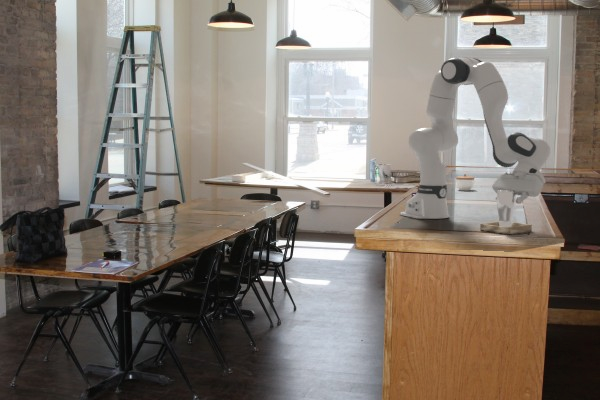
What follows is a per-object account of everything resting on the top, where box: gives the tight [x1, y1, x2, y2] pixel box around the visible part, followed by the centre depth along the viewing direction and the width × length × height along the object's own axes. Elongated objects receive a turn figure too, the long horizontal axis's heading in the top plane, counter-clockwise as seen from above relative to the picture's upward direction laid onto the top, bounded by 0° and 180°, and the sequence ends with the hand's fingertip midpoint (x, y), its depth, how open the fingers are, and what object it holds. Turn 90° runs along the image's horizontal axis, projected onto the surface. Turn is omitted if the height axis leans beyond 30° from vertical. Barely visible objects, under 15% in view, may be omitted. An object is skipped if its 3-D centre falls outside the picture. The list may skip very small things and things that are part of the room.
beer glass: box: [496, 190, 517, 228], centre depth 286 cm, size 7×7×15 cm
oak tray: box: [479, 220, 533, 235], centre depth 287 cm, size 14×14×3 cm
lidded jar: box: [455, 173, 475, 191], centre depth 442 cm, size 11×11×9 cm
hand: (507, 201), depth 286 cm, fingers open, 8 cm apart
